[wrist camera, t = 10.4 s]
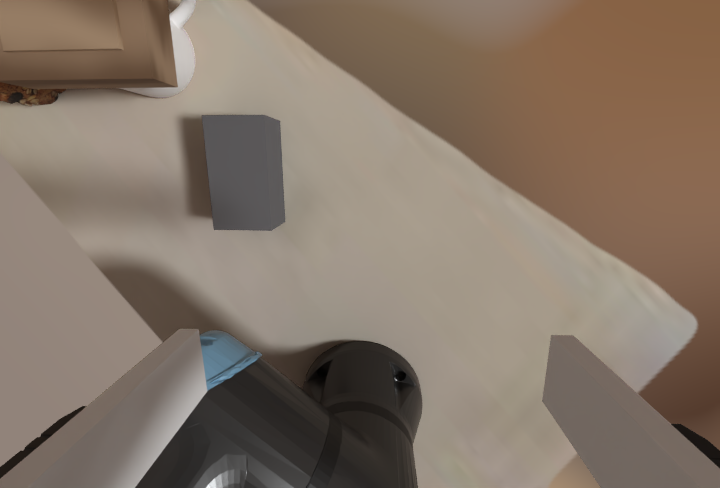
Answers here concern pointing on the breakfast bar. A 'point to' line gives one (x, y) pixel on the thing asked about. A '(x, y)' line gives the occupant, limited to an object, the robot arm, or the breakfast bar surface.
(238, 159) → the block
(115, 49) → the lid
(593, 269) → the breakfast bar surface
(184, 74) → the cup
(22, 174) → the breakfast bar surface
